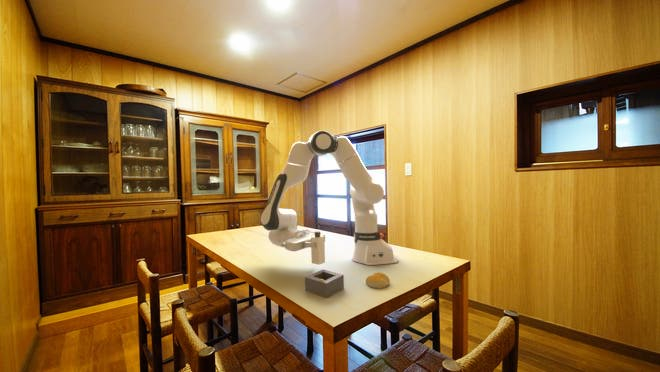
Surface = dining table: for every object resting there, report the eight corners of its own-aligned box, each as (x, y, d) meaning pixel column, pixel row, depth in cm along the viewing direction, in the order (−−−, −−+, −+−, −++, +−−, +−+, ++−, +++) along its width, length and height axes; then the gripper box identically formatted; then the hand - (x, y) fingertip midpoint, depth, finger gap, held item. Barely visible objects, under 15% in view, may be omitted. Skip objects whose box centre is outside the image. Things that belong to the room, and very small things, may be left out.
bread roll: (362, 285, 101) (361, 274, 101) (375, 278, 107) (375, 268, 107) (380, 291, 95) (380, 280, 95) (393, 284, 101) (393, 273, 101)
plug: (317, 260, 114) (317, 230, 114) (325, 262, 112) (324, 231, 111) (311, 263, 111) (310, 232, 111) (318, 264, 109) (317, 233, 108)
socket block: (323, 282, 104) (322, 268, 103) (343, 288, 97) (343, 274, 97) (305, 290, 96) (305, 276, 96) (326, 298, 90) (326, 282, 89)
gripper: (278, 237, 111) (301, 241, 103) (311, 229, 127) (333, 232, 118) (278, 252, 111) (302, 257, 103) (311, 242, 127) (334, 246, 119)
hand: (319, 243), depth 111 cm, fingers closed on plug, 4 cm apart
